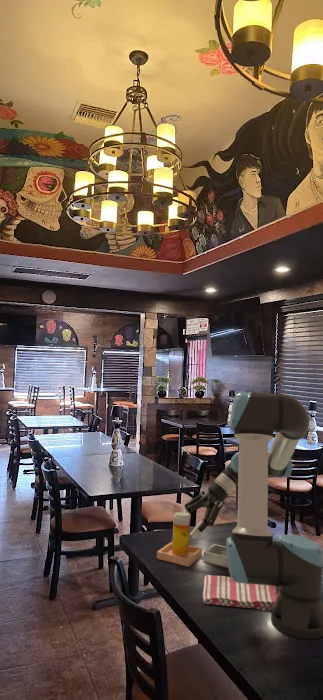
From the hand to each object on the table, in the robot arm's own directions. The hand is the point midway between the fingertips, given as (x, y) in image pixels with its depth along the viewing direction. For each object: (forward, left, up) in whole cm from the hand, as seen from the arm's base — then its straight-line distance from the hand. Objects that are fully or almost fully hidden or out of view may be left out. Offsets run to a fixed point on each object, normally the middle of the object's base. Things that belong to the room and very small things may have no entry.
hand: (184, 530), depth 179 cm
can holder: (+5, -13, -9) cm, 17 cm away
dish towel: (-17, -28, -10) cm, 34 cm away
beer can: (-1, +1, -9) cm, 9 cm away
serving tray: (-1, +1, -9) cm, 10 cm away
